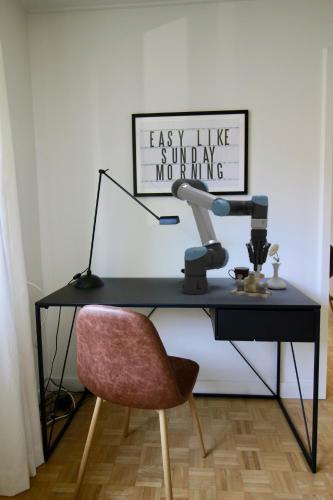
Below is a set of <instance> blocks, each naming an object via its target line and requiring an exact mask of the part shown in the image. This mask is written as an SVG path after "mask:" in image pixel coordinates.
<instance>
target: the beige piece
mask: <svg viewBox="0 0 333 500" xmlns="http://www.w3.org/2000/svg"><path fill="white" fill-rule="evenodd" d="M254 276H255V275H254V274H249V276H248V277H246V278H244V280H240V279H236V281H235V280H234V281H235V284H234V285H235V286H236V288H235V289H233V290H231V291H230V294H231V295H238V296H239V295H240V296H247V297H254V298H263V299H268V298H269V297H270V296H271V295H273V294H272V293H273V292H272V291H269V290H268V289H269V288H268V282H267V281H260V278H259V279H258V278H254Z"/></svg>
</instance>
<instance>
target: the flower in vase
mask: <svg viewBox="0 0 333 500" xmlns="http://www.w3.org/2000/svg"><path fill="white" fill-rule="evenodd" d="M279 248H280V245H279V244H278V243H274V244H273V245H271V246H270V248H269V251H268V256H269V257H273V260H274V261H275V262H272V263H271V265H272V269H273V276H271V278H269V279H268V280H267V281H266V282H268V289H275V290H281V289H285V288H286V287H287V284H286V283H285V282H284V280H282V279H281V278H280V277H279V268H280V266H281V263H280V257H279V254H278V251H279ZM275 255H276V257H275Z"/></svg>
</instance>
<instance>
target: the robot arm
mask: <svg viewBox="0 0 333 500" xmlns="http://www.w3.org/2000/svg"><path fill="white" fill-rule="evenodd" d="M170 192H171V194H172V196H173V197H174V198H175V199H177V200H179V201H186V203H187V205H188V206H189V207H190V208H191V210H192V214H193V217H194V221H195V224H196V228H197V233H198V234H199V238H200V242H201V246H193V247H189V248H186V249H185V251H184V255H183V258H184V269H185V274H184V278H183V281H182V283H181V289H180V291H181V293H183V294H187V295H205V294H209V293H210V291H211V287H210V284H209V280H208V278H207V276H208V275H207V272H208V271H212V270H219V269H223V268H225V267H227V265H228V262H229V259H230V255H229V254H230V253H229V251H228V249H226V247H222V243H221V242H220V241H218V239H217V235H216V232H215V229H214V225H213V223H212V219H211V216H210V212H212V213H213V215H214V216H216V217H248V216H249V217H250V228H251V229H250V239H249V242H248V243H245V246H246V248H247V249H246V250H247V254H248V260H249V263H250V264H252V265H253V270H252V271H254V272H255V276H254V278H258V279H259V280H260V273H261V272H262V269H263V268H262V267H263V265H264V264H265V263H266V262H267V258H268V256H269V251H270V249H271V247H272V243H271V242H268V240H267V239H268V238H267V237H268V229H267V228H268V219H269V218H268V217H269V215H268V213H269V197H268V195H263V194H259V195H258V194H257V195H256V194H255V195H252V196H251V198H250V200H247V199H246V200H240V199H239V200H236V199H235V200H234V199H233V200H232V199H231V200H230V199H224V198H222V197H221V196H218V195H214V194H211V193H209V192H210V190H209V186H208V184H207V183H206V182H205V181H204V180H202V179H197V178H196V179H193V178H183V177H181V178H178V179H175V180H174V182H172V185H171V189H170ZM209 211H210V212H209ZM266 264H267V263H266Z"/></svg>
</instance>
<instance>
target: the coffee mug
mask: <svg viewBox="0 0 333 500" xmlns="http://www.w3.org/2000/svg"><path fill="white" fill-rule="evenodd" d="M230 271H232V272H233V273H234V276H232V275H231V274H230ZM249 271H250V267H248V266H247V267H246V266H236V267H234V269H233V268H231V269H229V270H228V273H227V274H228V275H229V276H230V278H232V279H233V280H234V281H236V279H240V280H244V278H246V277H249Z"/></svg>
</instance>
